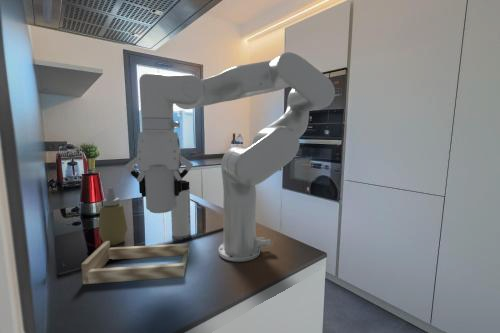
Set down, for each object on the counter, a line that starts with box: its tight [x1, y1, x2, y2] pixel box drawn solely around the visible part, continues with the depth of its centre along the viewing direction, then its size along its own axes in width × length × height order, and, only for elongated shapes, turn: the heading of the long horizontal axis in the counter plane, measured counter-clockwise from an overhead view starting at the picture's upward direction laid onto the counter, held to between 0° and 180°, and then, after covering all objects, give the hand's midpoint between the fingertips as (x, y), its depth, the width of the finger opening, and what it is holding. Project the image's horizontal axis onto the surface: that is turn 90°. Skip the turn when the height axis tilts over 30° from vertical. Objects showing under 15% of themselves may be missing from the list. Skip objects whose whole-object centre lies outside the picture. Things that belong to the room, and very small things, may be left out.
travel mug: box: [170, 179, 192, 240], centre depth 83 cm, size 6×7×20 cm
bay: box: [80, 241, 190, 285], centre depth 64 cm, size 23×12×5 cm, turn 98°
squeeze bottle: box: [98, 187, 128, 246], centre depth 78 cm, size 8×8×18 cm
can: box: [145, 166, 177, 214], centre depth 63 cm, size 8×8×12 cm
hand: (161, 194), depth 63 cm, fingers closed on can, 7 cm apart
